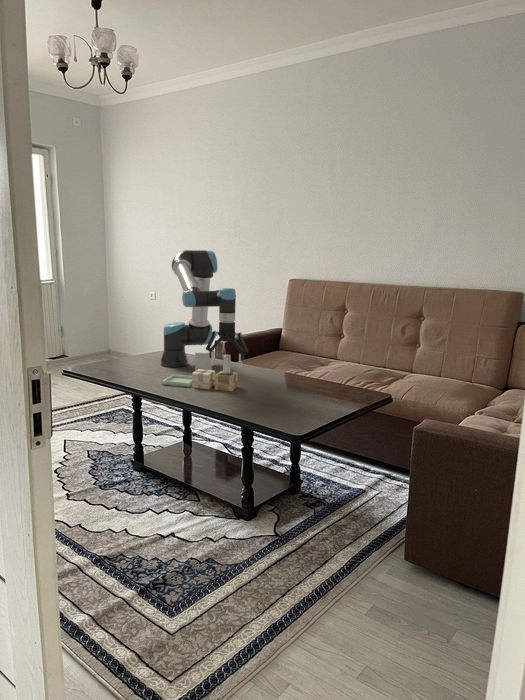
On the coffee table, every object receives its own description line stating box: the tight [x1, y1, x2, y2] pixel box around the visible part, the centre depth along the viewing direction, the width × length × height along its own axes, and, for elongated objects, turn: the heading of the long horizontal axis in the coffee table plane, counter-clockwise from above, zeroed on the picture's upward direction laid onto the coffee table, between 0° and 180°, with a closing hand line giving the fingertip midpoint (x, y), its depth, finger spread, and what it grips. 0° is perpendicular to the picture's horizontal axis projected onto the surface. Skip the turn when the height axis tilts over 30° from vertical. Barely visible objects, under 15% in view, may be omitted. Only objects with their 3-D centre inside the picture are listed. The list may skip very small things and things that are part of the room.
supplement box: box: [194, 349, 212, 372], centre depth 281 cm, size 7×7×13 cm
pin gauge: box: [222, 354, 231, 376], centre depth 257 cm, size 4×4×16 cm
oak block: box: [214, 370, 239, 392], centre depth 258 cm, size 8×8×7 cm
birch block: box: [191, 369, 216, 390], centre depth 260 cm, size 8×8×7 cm
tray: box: [161, 374, 192, 388], centre depth 266 cm, size 14×14×2 cm
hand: (226, 366), depth 256 cm, fingers open, 13 cm apart
